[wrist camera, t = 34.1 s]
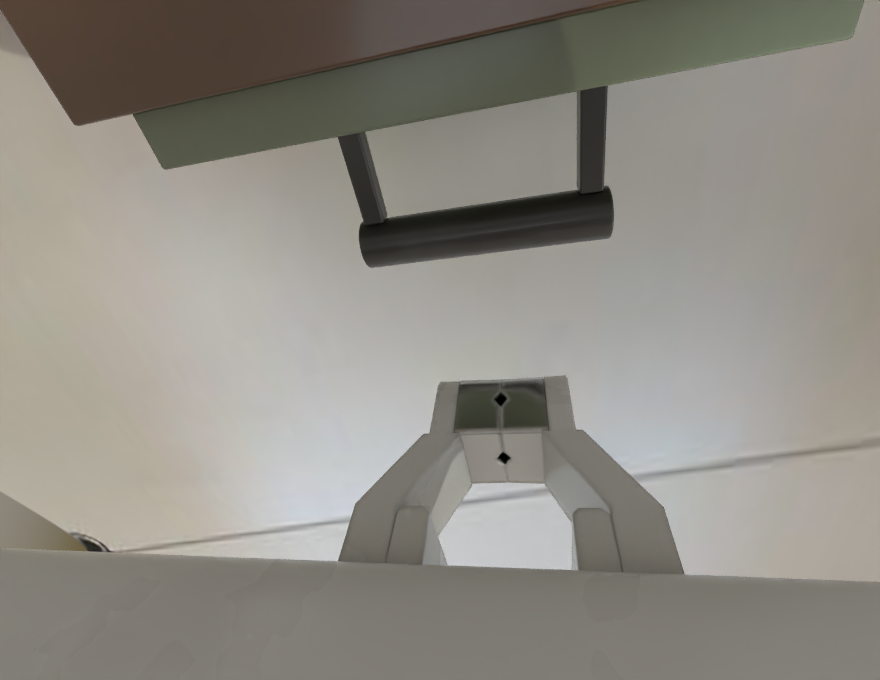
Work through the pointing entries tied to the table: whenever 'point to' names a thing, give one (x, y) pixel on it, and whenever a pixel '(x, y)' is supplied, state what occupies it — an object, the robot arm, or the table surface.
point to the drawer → (484, 86)
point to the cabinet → (236, 42)
